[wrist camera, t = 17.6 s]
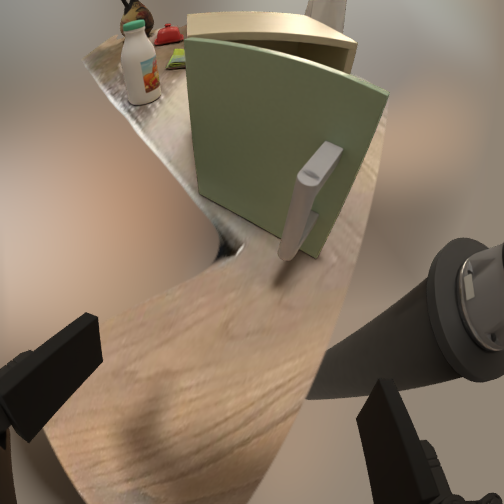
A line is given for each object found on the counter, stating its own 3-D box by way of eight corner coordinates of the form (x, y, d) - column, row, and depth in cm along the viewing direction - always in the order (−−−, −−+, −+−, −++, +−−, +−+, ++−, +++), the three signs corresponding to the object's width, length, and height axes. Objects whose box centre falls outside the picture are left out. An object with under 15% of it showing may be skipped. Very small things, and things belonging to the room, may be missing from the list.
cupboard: (319, 176, 40) (358, 43, 22) (200, 188, 38) (187, 35, 19) (289, 120, 48) (306, 15, 29) (194, 127, 46) (187, 14, 27)
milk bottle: (136, 109, 50) (121, 28, 32) (124, 100, 52) (110, 26, 35) (166, 96, 52) (158, 17, 35) (153, 88, 55) (143, 16, 38)
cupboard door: (293, 296, 30) (369, 126, 12) (170, 221, 34) (132, 59, 16) (319, 253, 33) (390, 92, 15) (203, 189, 38) (191, 36, 19)
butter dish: (155, 41, 82) (153, 24, 74) (182, 36, 84) (181, 19, 76) (154, 47, 76) (152, 28, 69) (184, 42, 78) (183, 23, 71)
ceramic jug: (147, 33, 93) (143, -18, 67) (160, 35, 87) (156, -20, 61) (115, 43, 87) (108, -9, 61) (124, 46, 81) (117, -12, 55)
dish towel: (174, 53, 70) (173, 46, 68) (247, 50, 72) (248, 43, 70) (165, 71, 61) (164, 63, 59) (252, 66, 63) (253, 58, 61)
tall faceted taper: (280, 77, 60) (294, -36, 32) (304, 69, 65) (319, -30, 36) (321, 94, 56) (346, -28, 28) (341, 84, 61) (365, -20, 33)
